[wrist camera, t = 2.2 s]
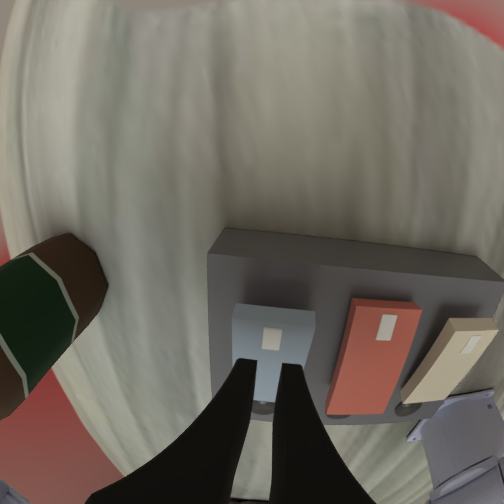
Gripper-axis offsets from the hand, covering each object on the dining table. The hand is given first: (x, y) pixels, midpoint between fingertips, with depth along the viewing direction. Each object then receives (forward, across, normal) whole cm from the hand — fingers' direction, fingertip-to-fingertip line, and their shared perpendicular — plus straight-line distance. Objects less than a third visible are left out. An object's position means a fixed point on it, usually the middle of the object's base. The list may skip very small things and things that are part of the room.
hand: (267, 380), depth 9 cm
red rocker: (+5, -6, +3) cm, 8 cm away
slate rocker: (+5, 0, +3) cm, 6 cm away
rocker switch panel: (+9, -6, +4) cm, 12 cm away
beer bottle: (+10, +16, +3) cm, 19 cm away
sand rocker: (+5, -11, +3) cm, 12 cm away
